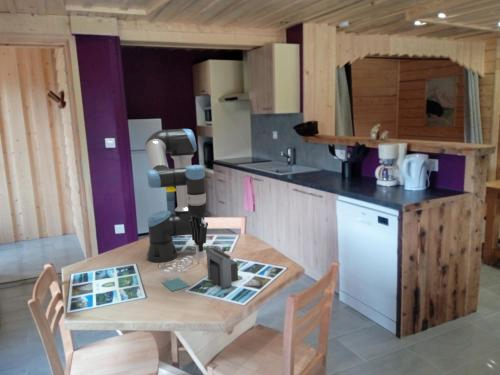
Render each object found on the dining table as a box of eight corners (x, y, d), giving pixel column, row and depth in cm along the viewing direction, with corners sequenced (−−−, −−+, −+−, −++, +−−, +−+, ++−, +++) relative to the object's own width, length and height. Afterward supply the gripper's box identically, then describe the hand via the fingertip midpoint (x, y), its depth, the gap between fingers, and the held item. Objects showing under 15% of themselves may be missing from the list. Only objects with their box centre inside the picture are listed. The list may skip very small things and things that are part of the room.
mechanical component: (225, 268, 194) (224, 248, 193) (204, 267, 197) (203, 247, 195) (227, 266, 197) (226, 246, 195) (206, 265, 199) (205, 245, 198)
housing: (208, 278, 184) (206, 249, 181) (215, 275, 186) (214, 247, 184) (223, 288, 173) (222, 258, 170) (231, 285, 175) (230, 256, 173)
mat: (161, 283, 180) (161, 282, 180) (178, 278, 185) (178, 277, 185) (172, 291, 171) (172, 290, 171) (189, 286, 176) (189, 285, 176)
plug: (211, 281, 180) (210, 264, 179) (233, 275, 187) (232, 258, 185) (218, 286, 176) (217, 268, 174) (240, 279, 182) (240, 262, 180)
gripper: (181, 202, 171) (184, 255, 176) (196, 208, 160) (199, 265, 165) (197, 199, 175) (200, 251, 180) (212, 204, 165) (215, 260, 169)
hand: (199, 258), depth 173 cm, fingers closed
